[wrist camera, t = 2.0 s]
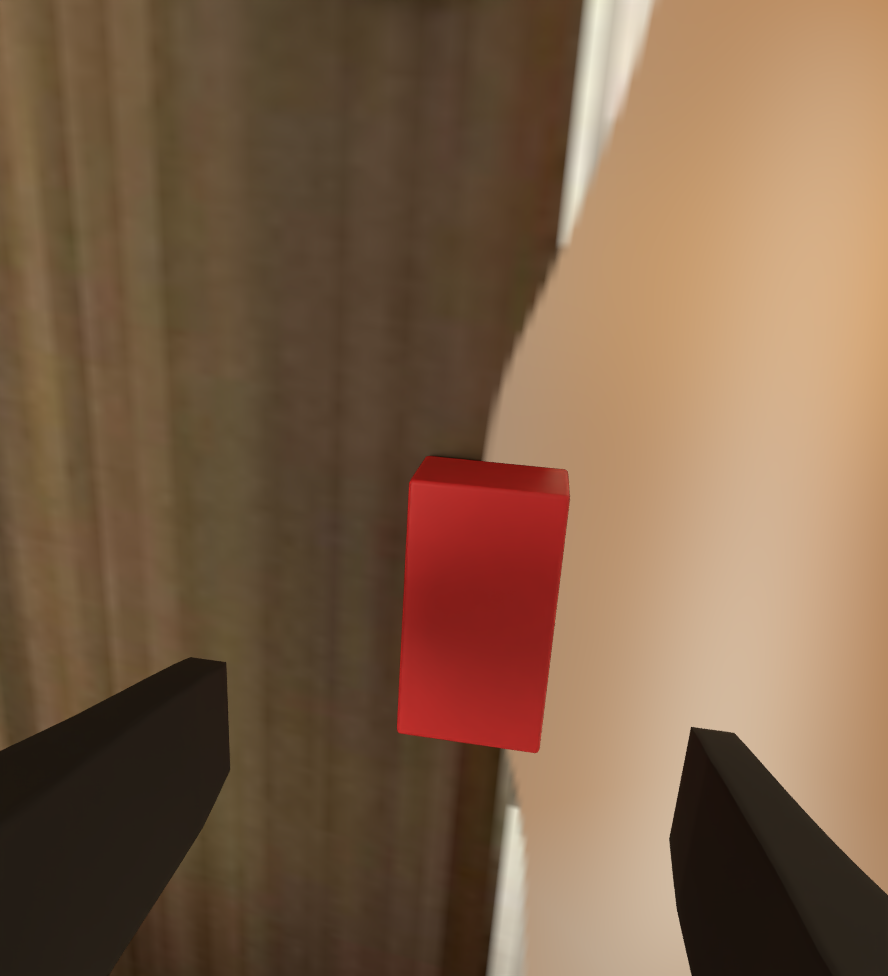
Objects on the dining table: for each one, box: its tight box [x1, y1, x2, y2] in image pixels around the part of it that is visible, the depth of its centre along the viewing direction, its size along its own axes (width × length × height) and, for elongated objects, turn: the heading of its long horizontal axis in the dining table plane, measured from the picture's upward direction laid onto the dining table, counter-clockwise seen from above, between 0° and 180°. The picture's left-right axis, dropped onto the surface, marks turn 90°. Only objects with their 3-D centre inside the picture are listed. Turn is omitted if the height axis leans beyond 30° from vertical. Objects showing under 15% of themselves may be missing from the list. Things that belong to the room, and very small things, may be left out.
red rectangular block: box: [397, 456, 570, 753], centre depth 16 cm, size 6×3×2 cm, turn 176°
